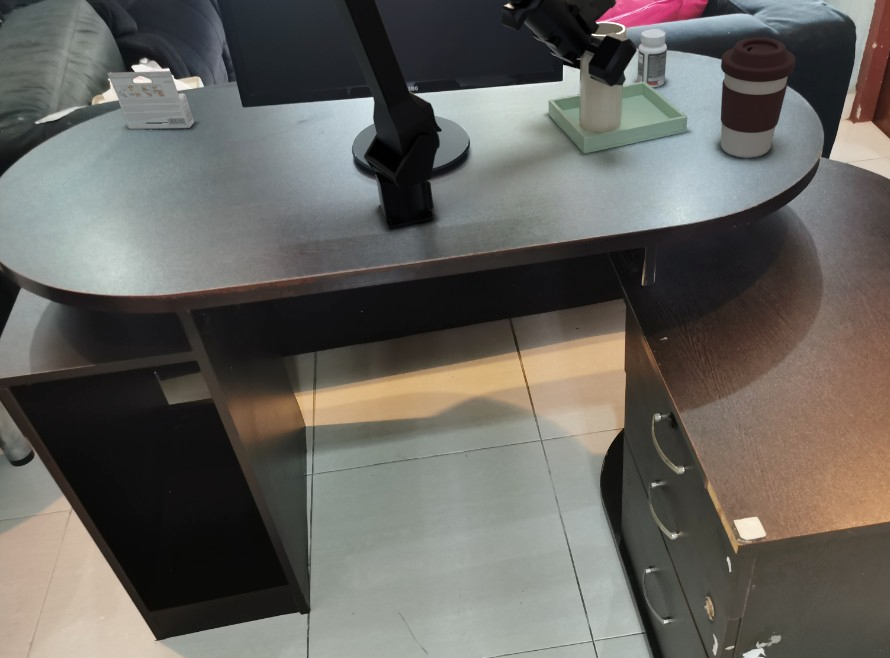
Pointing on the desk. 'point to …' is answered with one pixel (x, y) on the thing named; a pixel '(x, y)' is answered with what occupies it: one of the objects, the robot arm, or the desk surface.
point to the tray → (640, 119)
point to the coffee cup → (753, 94)
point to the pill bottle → (652, 57)
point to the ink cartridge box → (151, 100)
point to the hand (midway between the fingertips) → (608, 75)
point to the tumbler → (600, 91)
